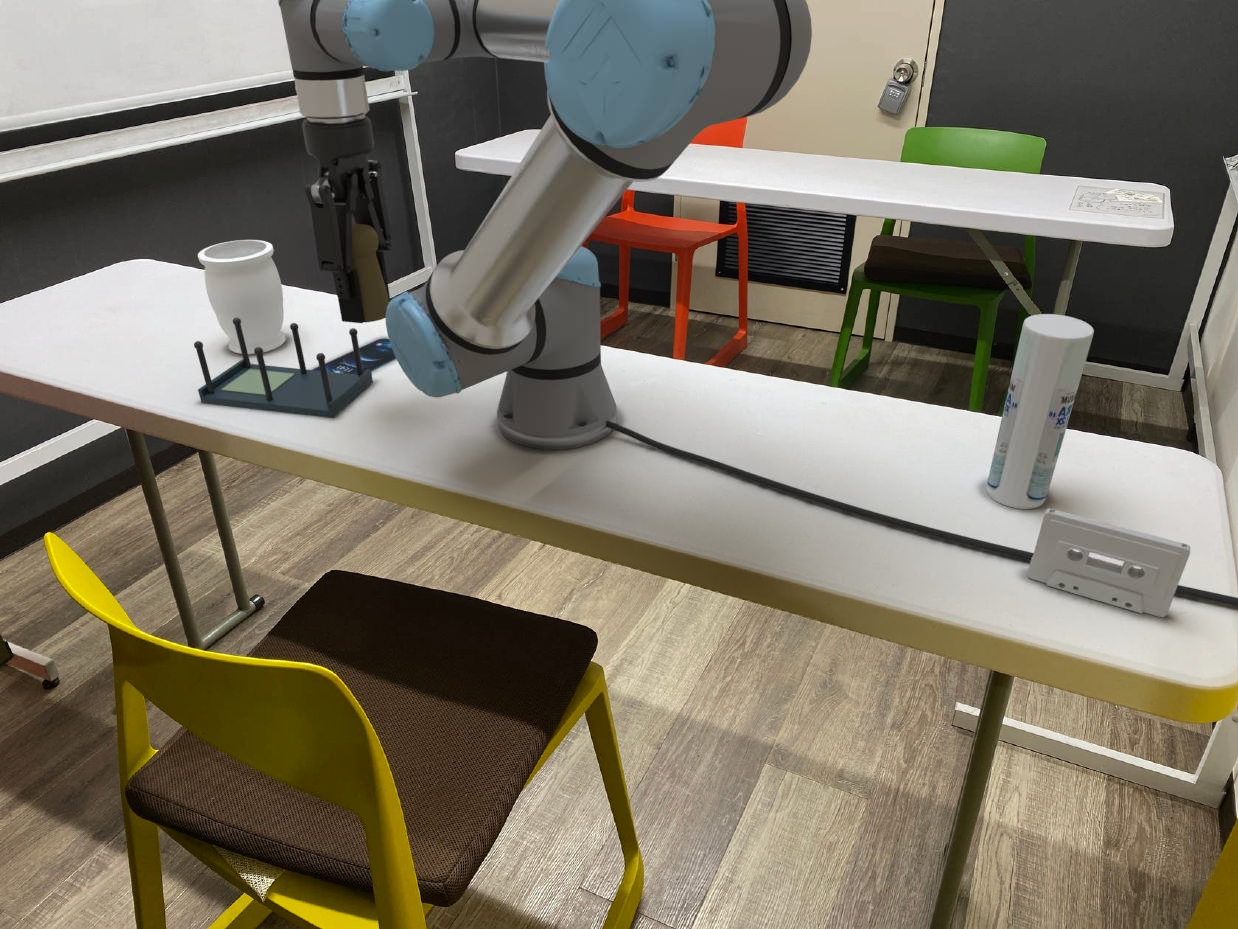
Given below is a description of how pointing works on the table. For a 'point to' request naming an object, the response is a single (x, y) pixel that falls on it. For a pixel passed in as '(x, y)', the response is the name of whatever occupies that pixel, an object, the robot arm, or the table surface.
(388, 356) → the smartphone
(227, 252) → the jar
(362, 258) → the cork
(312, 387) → the drying rack
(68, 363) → the table surface
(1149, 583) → the cassette
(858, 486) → the table surface
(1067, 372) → the spray can
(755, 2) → the robot arm
